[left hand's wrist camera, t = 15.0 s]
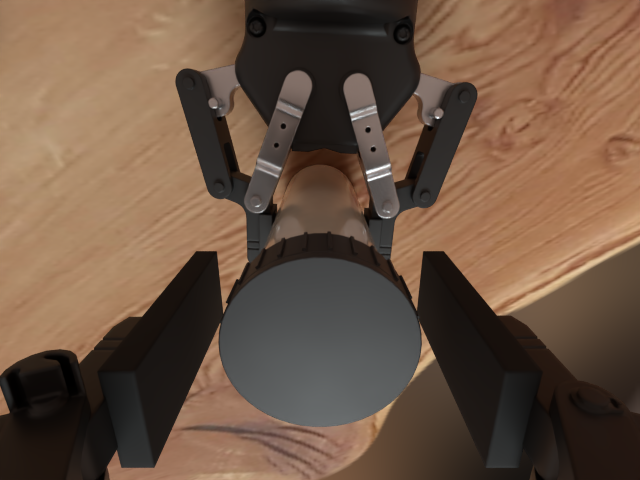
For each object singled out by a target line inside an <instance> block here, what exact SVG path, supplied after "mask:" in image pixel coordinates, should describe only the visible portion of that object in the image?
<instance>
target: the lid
mask: <svg viewBox="0 0 640 480" xmlns="http://www.w3.org/2000/svg"><path fill="white" fill-rule="evenodd" d="M411 299H412V296H411V294H410V292H409V290H408V288H407V285H406V283H405V281H404V279H403V277H402V275H400V276H399V275H398V274H397V272H396V270H395V269H394V266H393V264H392V262H391V260H390V259H387V260H386V259H385V258H384V257H383V256H382V255H381V254H380V253H378V252H377V251H376V250H375V247H374V246H373V245H371V246H368V245H366V244H364V243H363V242H360V241H358V240H355V239H354V236H350V237H346V236H342V235H337V234H331V231H327V233H311V234H308V232H304V234H302V235H298V236H294V237H290V238H288V239H285V237H284V238H282V239H281V241H280V242H278V243H276V244H274V245H272V246H270V247H269V248H267V249H265V248H263V249H262V250H261V253H260V254H259V255H258V256H257V257H256V258H255V259H254V260H253V261H252V262H251V263H249V262H248V263H247V264H246V266H245V268H244V270H243V272H242V275H241V277H240V279H239V280H238V279H237V280H236V282H235V284H234V286H233V288H232V290H231V292H230V294H229V297H228V299H227V301H226V303H228V305H227V307H226V309H225V312H224V314H223V316H222V318H221V321H220V323H221V326H220V330H219V352H220V357H221V361H222V365H223V367H224V370H225V372H226V374H227V376H228V378H229V380H230V381H231V383H232V385H233V386H234V387H235V388H236V390H237V391H238V392H239V393H240V394H241V395H242V396H243V397H244V398H245V399H246V400H247V401H248V402H249V403H251V404H252V405H253V406H255V407H256V408H257V409H259V410H261V411H262V412H264V413H266V414H267V415H270V416H272V417H274V418H276V419H279V420H282V421H285V422H288V423H292V424H297V425H302V426H312V427H328V426H338V425H343V424H348V423H352V422H355V421H358V420H361V419H364V418H366V417H368V416H371V415H373V414H374V413H376V412H378V411H380V410H382V409H383V408H384V407H386V406H387V405H388V404H390V403H391V402H392V401H393V400H394V399H395V398H397V397H398V396H399V395H400V394H401V392H402V391H403V390H404V389H405V388H406V386H407V385H408V383H409V382H410V380H411V378H412V377H413V375H414V373H415V370H416V368H417V365H418V362H419V358H420V354H421V346H422V340H421V329H420V324H419V320H418V319H419V315H418V313H417V311H416V308H415V306H414V304H413V302H412V300H411Z"/></svg>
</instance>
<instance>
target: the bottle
mask: <svg viewBox="0 0 640 480" xmlns="http://www.w3.org/2000/svg"><path fill="white" fill-rule="evenodd" d="M327 231H331V234H337V235H342V236H346V237H350V236H354V239H355V240H358V241H360V242H363V243H364V244H366V245H368V246H371V245H373V246H374V247H375V250H376V251H377V248H376V246H375V243H374V240H373V238H372V235H371V233H370V230H369V227H368V225H367V222H366V220H365V217H364V214H363V212H362V209H361V207H360V204H359V201H358V199H357V196H356V194H355V191H354V188H353V186H352V184H351V182H350V180H349V179H348V178H347V176H346V175H345V174H344V173H342V172H341V171H340V170H338V169H336V168H334V167H331V166H328V165H313V166H309V167H306V168H304V169H302V170H300V171H299V172H298V173H297V174H296V175H295V176H294V177H293V178H292V179H291V180H290V182H289V184H288V186H287V189H286V191H285V194H284V197H283V199H282V202H281V204H280V207H279V210H278V212H277V215H276V217H275V220H274V223H273V225H272V228H271V230H270V233H269V236H268V238H267V241H266V243H265V246H264V248H265V249H267V248H269V247H270V246H272V245H274V244H276V243H278V242H280V241H281V239H282V238H284V237H285V239H288V238H290V237H294V236H298V235H302V234H304V232H308V234H311V233H327ZM377 252H378V251H377Z"/></svg>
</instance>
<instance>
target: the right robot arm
mask: <svg viewBox="0 0 640 480" xmlns="http://www.w3.org/2000/svg"><path fill="white" fill-rule="evenodd" d="M417 3H418V0H245V37H244V41H243V44H242V47H241V49H240V51H239V53H238V55H237V58H236V61H235V64H234V65H229V66H225V67H220V68H215V69H211V70H206V71H197V70H193V69H183V70H181V71H180V72H179V73H178V74H177V76H176V87H177V90H178V94H179V97H180V100H181V104H182V107H183V110H184V113H185V117H186V120H187V123H188V127H189V130H190V133H191V137H192V140H193V143H194V146H195V150H196V153H197V156H198V160H199V163H200V166H201V169H202V173H203V176H204V179H205V183H206V186H207V189H208V192H209V193H210V194H211V195H212V196H213V197H214V198H217V199H224V198H226V199H228V200H231V201H233V202H236V203H238V204H239V205H241V206H242V207H243V209H244V210H245V212H246V218H247V257H248V261H249V263H251V262H252V261H253V260H254V259H255V258H256V257H257V256H258V255H259V254H260V253H261V250H262V249H263V248H264V246H265V243H266V241H267V238H268V236H269V233H270V230H271V228H272V225H273V223H274V220H275V217H276V215H277V204H273V194H274V192H275V189H276V187H277V184H278V181H279V179H280V176H281V174H282V171H283V168H284V166H285V164H286V161H287V159H288V156H289V153H290V151H291V149H292V151H304V152H309V151H313V150H317V149H322V148H327V149H330V150H333V151H336V152H339V153H350V154H357V157H358V160H359V164H360V167H361V169H362V173H363V176H364V180H365V183H366V187H367V190H368V194H369V197H370V200H369V208H364V217H365V220H366V222H367V225H368V227H369V230H370V233H371V235H372V238H373V240H374V243H375V246H376V248H377V251H378V253H380V254H381V255H382V256H383V257H384V258H385V259H386V260H387V259H390V257H391V249H392V248H391V247H392V240H393V231H394V223H395V220H396V218H397V216H398V215H399V214H400V213H401V212H403V211H405V210H408V209H411V208H414V207H420V208H428V207H430V206H432V205H433V204H434V203H435V201H436V199H437V197H438V194H439V192H440V189H441V187H442V184H443V182H444V179H445V177H446V174H447V172H448V169H449V167H450V164H451V162H452V159H453V157H454V155H455V152H456V150H457V147H458V145H459V142H460V140H461V137H462V135H463V132H464V130H465V127H466V125H467V122H468V120H469V117H470V115H471V112H472V110H473V107H474V105H475V102H476V100H477V90H476V88H475V86H474V85H472V84H471V83H468V82H463V83H462V82H458V83H450V82H447V81H444V80H441V79H438V78H435V77H432V76H429V75H425V74H422V73H421V71H420V65H419V63H418V60H417V58H416V55H415V50H414V30H415V21H416V12H417ZM240 87H241V88H242V89H243V91H244V92H245V93H246V95H247V96H248V98H249V99H250V101H251V102H252V104H253V105H254V107H255V108H256V110H257V111H258V113H259V114H260V115H261V117H262V118H263V120H264V121H265V123H266V124H267V126H268V130H267V133H266V136H265V139H264V141H263V144H262V147H261V150H260V153H259V155H258V158H257V162H256V167H255V170H254V172H253V175H252V177H250V176H248V175H245V174H243V173H241V172H240V170H239V166H238V162H237V159H236V155H235V151H234V147H233V144H232V140H231V136H230V133H229V129H228V125H227V121H226V118H225V116H226V115H228V114H230V113H231V112H232V110H233V108H234V94H235V92H236V90H237V89H238V88H240ZM412 95H413V96H414V97H415V98H416V99H417V102H418V110H417V117H418V119H419V121H420V122H421V123H422V124H424V128H423V130H422V133H421V136H420V139H419V141H418V144H417V147H416V150H415V152H414V155H413V158H412V161H411V163H410V166H409V169H408V172H407V174H406V177H405V180H401V181H398V182H395V183H394V180H393V176H392V172H391V163H390V159H389V155H388V151H387V147H386V143H385V140H384V136H383V130H384V129H385V128H386V127H387V125H388V124H389V123H390V122H391V121H392V119H393V118H394V117H395V116H396V114H397V113H398V112H399V111H400V110H401V108H402V107H403V106H404V105H405V103H406V102H407V101H408V100H409V99H410V97H411V96H412Z"/></svg>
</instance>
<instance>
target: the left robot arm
mask: <svg viewBox="0 0 640 480" xmlns="http://www.w3.org/2000/svg"><path fill="white" fill-rule="evenodd" d="M417 313H418V315H419V321H420V324H421V326H422V328H423V330H424V333H425V335H426V337H427V339H428V341H429V344H430V346H431V348H432V350H433V352H434V355H435V357H436V359H437V361H438V363H439V366H440V368H441V370H442V372H443V374H444V377H445V379H446V381H447V383H448V386H449V388H450V390H451V392H452V394H453V396H454V399H455V401H456V403H457V405H458V407H459V410H460V412H461V414H462V416H463V419H464V421H465V423H466V425H467V427H468V430H469V432H470V434H471V436H472V439H473V441H474V443H475V445H476V447H477V449H478V452H479V454H480V456H481V458H482V461H483V463H484V465H485V467H486V468H518V467H519V464H520V460H521V456H522V452H523V448H524V450H525V451H526V453H527V455H528V457H529V458H530V460H531V462H532V463H533V469H532V473H531V476H530V480H640V414H638V413H633V412H630V411H629V409H628V408H627V407H626V405H625V404H624V403H623V402H622V401H621V400H620V399H618V398H617V397H616V396H615V395H613V394H612V393H610V392H608V391H607V390H605V389H603V388H601V387H599V386H597V385H593V384H590V383H587V382H584V381H578V380H577V379H576V378H575V377H574V376H573V375H572V374H571V373H570V372H569V371H568V369H567V368H566V367H565V366H564V365H563V364H562V363H561V362H560V361H559V360H558V359H557V358H556V357H555V355H554V354H553V353H552V352H551V351H550V350H549V349H546V346H545V345H544V344H543V342H542V341H541V340H540V339H537V336H536V335H535V334H534V333H533V332H532V331H531V329H530V328H529V327H528V326H527V325H525V324H524V323H522V322H520V321H519V320H517V319H515V318H514V317H512V316H497V315H496V314H495V313H494V312H493V310H492V309H491V308H490V307H489V306H488V304H487V303H486V302H485V301H484V299H483V298H482V297H481V296H480V295H479V293H478V292H477V291H476V290H475V289H474V287H473V286H472V285H471V284H470V283H469V281H468V280H467V279H466V278H465V277H464V275H463V274H462V273H461V272H460V270H459V269H458V268H457V267H456V266H455V264H454V263H453V262H452V261H451V260H450V258H449V257H448V256H447V255H446V254H445V252H444V251H423V259H422V268H421V278H420V288H419V297H418V307H417ZM222 316H223V307H222V297H221V288H220V278H219V268H218V259H217V251H196V252H195V254H194V255H193V256H192V257H191V258H190V260H189V261H188V262H187V263H186V264H185V266H184V267H183V268H182V269H181V270H180V272H179V273H178V274H177V275H176V277H175V278H174V279H173V280H172V281H171V283H170V284H169V285H168V286H167V287H166V289H165V290H164V291H163V292H162V293H161V295H160V296H159V297H158V298H157V299H156V301H155V302H154V303H153V304H152V306H151V307H150V308H149V309H148V310H147V312H146V313H145V314H144V315H143V316H142V317H128V318H127V319H125V320H124V321H122V322H120V323H119V324H117V325H115V326H114V327H113V328H112V329H111V330H110V331H109V332H108V333H107V334H106V335H105V336H104V338H103V340H101V341H100V342H99V343H98V344H97V345H96V346H95V347H94V350H92V351H91V352H90V353H89V354H88V355H87V356H86V357H85V358H84V359H83V360H82V362H81V363H80V364H79V363H78V359H77V356H76V354H74V353H73V352H71V351H68V350H61V349H59V350H50V351H44V352H41V353H37V354H34V355H31V356H29V357H27V358H25V359H22V360H20V361H18V362H16V363H15V364H13V365H12V366H10V367H9V368H8V369H6V370H5V371H4V372H3V373H2V374H1V376H0V387H1V389H2V392H3V395H4V397H5V400H6V403H7V405H8V408H9V411H10V413H9V414H5V415H1V416H0V480H110V479H109V473H108V469H107V466H108V464H109V462H110V460H111V459H112V457H113V455H114V454H115V452H116V450H117V452H118V456H119V460H120V464H121V468H154V467H155V465H156V463H157V461H158V458H159V456H160V454H161V452H162V450H163V447H164V445H165V443H166V441H167V439H168V436H169V434H170V432H171V430H172V427H173V425H174V423H175V421H176V419H177V416H178V414H179V412H180V410H181V408H182V405H183V403H184V401H185V399H186V397H187V394H188V392H189V390H190V388H191V386H192V383H193V381H194V379H195V377H196V374H197V372H198V370H199V368H200V366H201V363H202V361H203V359H204V357H205V355H206V352H207V350H208V348H209V346H210V344H211V341H212V339H213V337H214V335H215V333H216V330H217V328H218V326H219V324H220V321H221V318H222Z"/></svg>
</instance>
